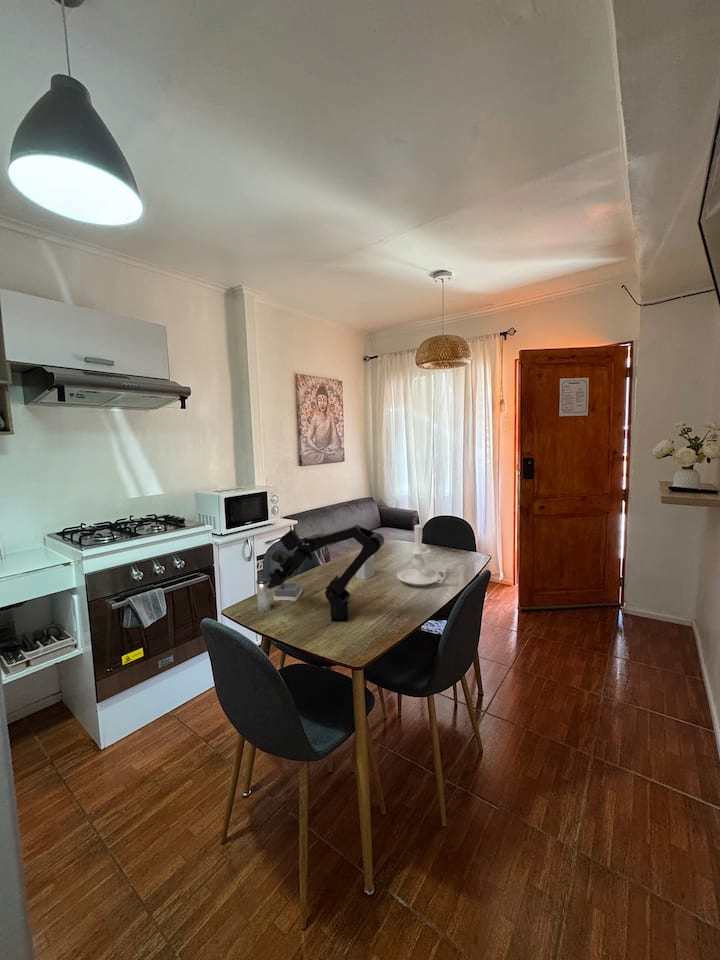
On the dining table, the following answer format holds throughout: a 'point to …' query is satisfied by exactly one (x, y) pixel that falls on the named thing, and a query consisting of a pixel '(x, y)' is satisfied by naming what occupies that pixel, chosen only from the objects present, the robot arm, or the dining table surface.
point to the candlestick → (419, 565)
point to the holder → (288, 591)
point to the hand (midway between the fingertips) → (273, 583)
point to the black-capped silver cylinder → (263, 595)
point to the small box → (366, 569)
